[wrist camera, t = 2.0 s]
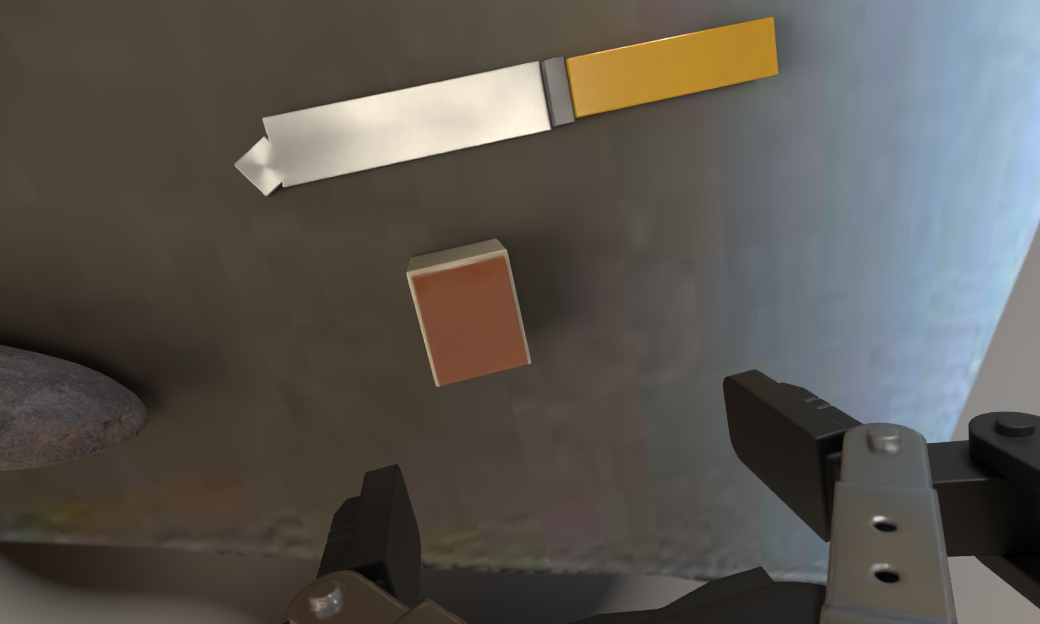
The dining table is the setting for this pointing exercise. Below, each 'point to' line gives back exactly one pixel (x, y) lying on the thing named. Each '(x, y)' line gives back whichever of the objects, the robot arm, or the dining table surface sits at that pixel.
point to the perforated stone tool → (60, 411)
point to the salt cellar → (468, 311)
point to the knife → (500, 104)
